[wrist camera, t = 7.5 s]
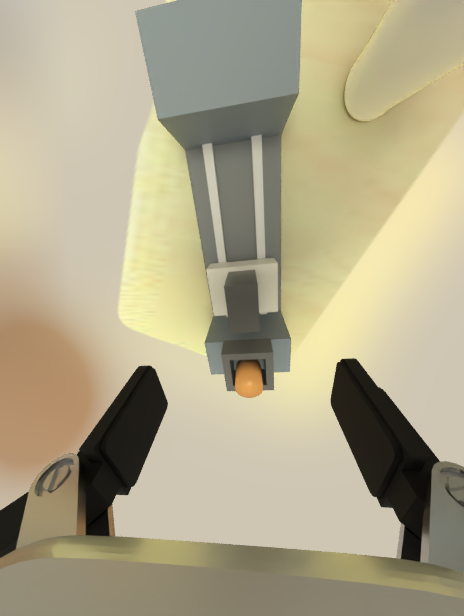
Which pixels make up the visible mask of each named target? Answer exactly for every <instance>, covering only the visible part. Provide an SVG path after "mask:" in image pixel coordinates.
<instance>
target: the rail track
mask: <svg viewBox="0 0 464 616" xmlns="http://www.w3.org/2000/svg"><path fill="white" fill-rule="evenodd" d="M301 6H302V0H177V1H173V2H170V3H166V4H162V5H158V6H154V7H150V8H146V9H142V10H138V11H135V13H136V17H137V23H138V27H139V32H140V37H141V41H142V46H143V51H144V56H145V61H146V65H147V70H148V75H149V79H150V85H151V89H152V94H153V99H154V104H155V108H156V113H157V118H158V120H159V121H160V122H161V123H162V125H163V126H164V127H165V128H166V129H167V130H168V131H169V132H170V134H171V135H172V136H173V137H174V138H175V139H176V140H177V141H178V143H179V144H180V145H181V146H182V147H183V148H184V149H185V151H186V157H187V163H188V168H189V174H190V180H191V186H192V192H193V198H194V203H195V209H196V215H197V221H198V227H199V233H200V239H201V244H202V250H203V256H204V262H205V268H206V269H207V268H208V267H209V265H210V264H214V263H224V262H234V261H245V260H255V259H265V258H274V259H275V260H276V261H277V263H278V312H266V313H259V320H260V332H248V333H230V328H229V321H228V315H222V316H213V319H212V322H211V325H210V328H209V331H208V334H207V337H206V340H205V347H206V352H207V357H208V361H209V365H210V371H211V374H224V375H225V381H226V387H227V391H236V390H235V378H236V364H237V362H238V361H239V360H250V359H257V360H258V361H259V362H260V364H261V373H262V382H263V390H274V372H289V371H290V352H291V337H290V335H289V332H288V330H287V327H286V324H285V322H284V319H283V316H282V314H281V311H280V292H281V133H282V131H283V129H284V126H285V124H286V122H287V119H288V117H289V115H290V112H291V110H292V108H293V105H294V103H295V101H296V98H297V96H298V94H299V69H300V38H301ZM206 274H207V272H206ZM207 279H208V278H207ZM208 285H209V283H208ZM209 291H210V289H209ZM210 297H211V295H210ZM211 303H212V301H211ZM212 309H213V307H212ZM213 315H214V313H213Z"/></svg>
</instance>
